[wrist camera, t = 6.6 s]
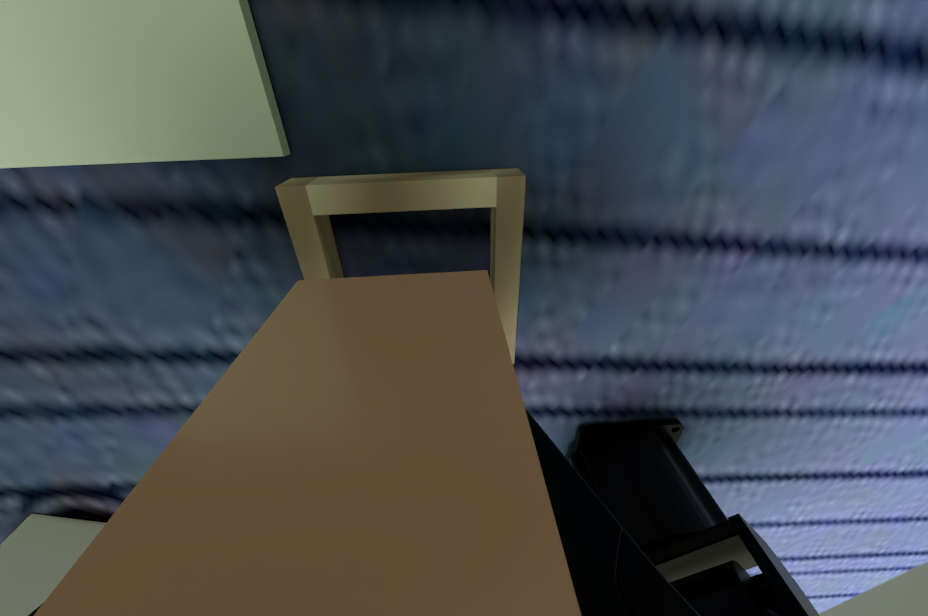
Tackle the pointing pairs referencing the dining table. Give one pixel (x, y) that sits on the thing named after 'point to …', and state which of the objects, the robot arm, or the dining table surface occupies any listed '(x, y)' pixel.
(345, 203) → the socket
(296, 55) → the dining table surface
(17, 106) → the mat
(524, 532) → the tan cardboard cube
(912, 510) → the dining table surface
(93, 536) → the milk
